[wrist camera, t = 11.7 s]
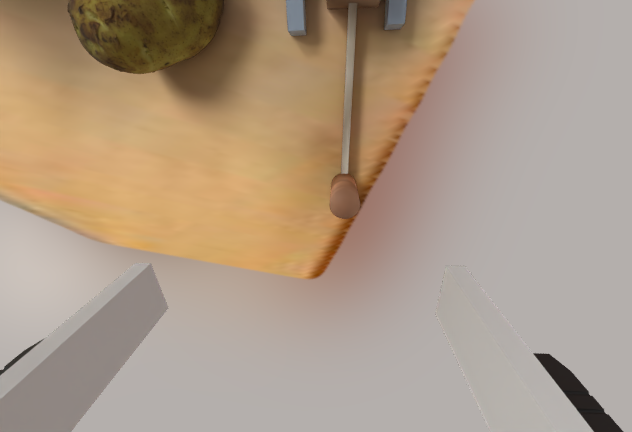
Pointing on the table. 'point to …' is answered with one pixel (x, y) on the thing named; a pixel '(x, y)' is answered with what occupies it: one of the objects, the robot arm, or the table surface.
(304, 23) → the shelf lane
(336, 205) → the wooden mallet
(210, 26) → the dirty green tuber
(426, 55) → the table surface
